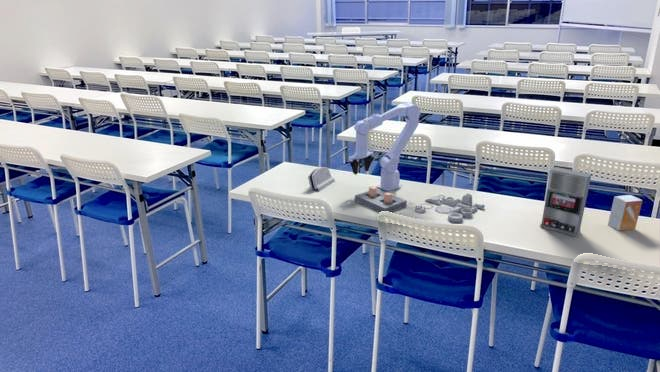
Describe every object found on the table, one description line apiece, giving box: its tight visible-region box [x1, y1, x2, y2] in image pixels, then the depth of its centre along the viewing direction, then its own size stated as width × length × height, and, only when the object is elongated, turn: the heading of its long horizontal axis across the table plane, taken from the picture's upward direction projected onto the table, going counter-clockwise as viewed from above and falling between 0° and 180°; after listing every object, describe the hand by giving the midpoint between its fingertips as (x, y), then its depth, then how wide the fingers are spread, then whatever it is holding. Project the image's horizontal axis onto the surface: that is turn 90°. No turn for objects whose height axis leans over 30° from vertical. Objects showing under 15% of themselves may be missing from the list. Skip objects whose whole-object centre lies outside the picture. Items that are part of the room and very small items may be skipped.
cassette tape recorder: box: [539, 166, 592, 237], centre depth 188 cm, size 14×6×25 cm, turn 49°
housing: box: [354, 188, 407, 212], centre depth 219 cm, size 20×14×2 cm
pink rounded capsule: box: [368, 185, 378, 198], centre depth 222 cm, size 4×4×6 cm
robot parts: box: [414, 193, 485, 223], centre depth 212 cm, size 25×25×5 cm
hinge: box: [307, 166, 336, 192], centre depth 240 cm, size 17×5×10 cm, turn 151°
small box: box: [607, 194, 643, 232], centre depth 192 cm, size 8×6×13 cm
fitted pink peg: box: [384, 192, 394, 205], centre depth 215 cm, size 4×4×6 cm
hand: (361, 172), depth 231 cm, fingers open, 7 cm apart
